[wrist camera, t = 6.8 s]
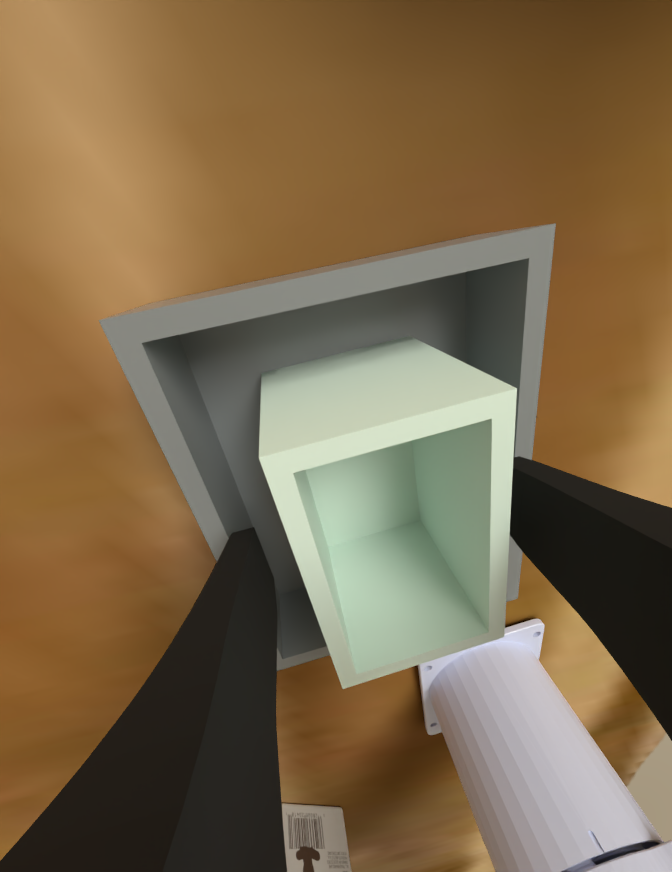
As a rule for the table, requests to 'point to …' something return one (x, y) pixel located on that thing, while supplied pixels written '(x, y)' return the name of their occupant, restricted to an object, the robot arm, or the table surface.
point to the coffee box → (315, 838)
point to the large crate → (313, 339)
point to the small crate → (393, 499)
